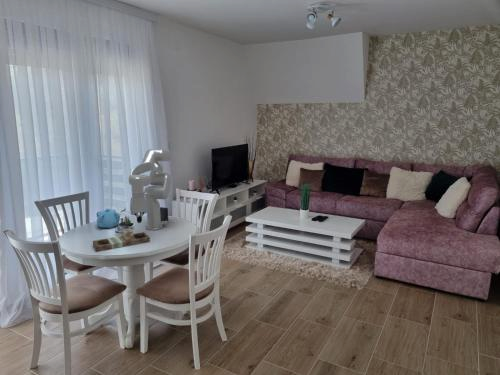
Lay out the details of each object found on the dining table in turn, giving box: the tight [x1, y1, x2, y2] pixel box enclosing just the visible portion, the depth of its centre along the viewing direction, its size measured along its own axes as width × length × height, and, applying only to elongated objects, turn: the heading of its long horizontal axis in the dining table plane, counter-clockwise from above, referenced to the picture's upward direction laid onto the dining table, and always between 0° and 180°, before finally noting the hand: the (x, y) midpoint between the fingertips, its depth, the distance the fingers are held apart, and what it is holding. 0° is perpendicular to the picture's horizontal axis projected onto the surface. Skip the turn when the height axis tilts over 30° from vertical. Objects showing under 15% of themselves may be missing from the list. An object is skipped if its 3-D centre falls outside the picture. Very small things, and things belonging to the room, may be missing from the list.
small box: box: [160, 206, 169, 222], centre depth 282 cm, size 11×6×10 cm, turn 71°
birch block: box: [122, 228, 134, 240], centre depth 234 cm, size 5×6×5 cm
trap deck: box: [92, 231, 151, 252], centre depth 232 cm, size 33×13×3 cm, turn 122°
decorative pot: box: [96, 208, 121, 229], centre depth 268 cm, size 16×16×14 cm
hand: (139, 222), depth 236 cm, fingers closed
